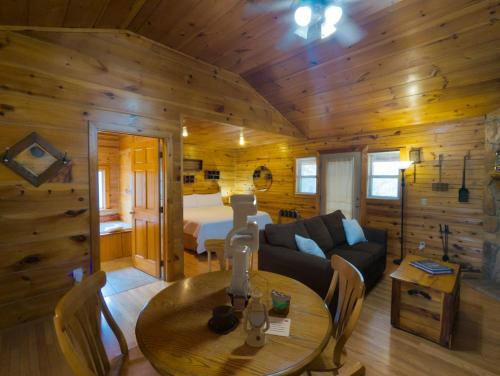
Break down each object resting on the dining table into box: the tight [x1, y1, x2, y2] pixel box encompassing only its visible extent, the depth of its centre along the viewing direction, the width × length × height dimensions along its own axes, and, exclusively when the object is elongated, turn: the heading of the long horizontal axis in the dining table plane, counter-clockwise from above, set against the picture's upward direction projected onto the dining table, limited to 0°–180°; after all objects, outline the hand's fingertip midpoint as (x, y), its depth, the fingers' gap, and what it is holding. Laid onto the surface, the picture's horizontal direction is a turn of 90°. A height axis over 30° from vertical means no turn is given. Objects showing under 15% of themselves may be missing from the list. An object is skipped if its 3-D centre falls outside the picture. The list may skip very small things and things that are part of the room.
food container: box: [270, 288, 292, 315], centre depth 131 cm, size 12×6×10 cm, turn 47°
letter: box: [262, 316, 292, 338], centre depth 119 cm, size 14×12×1 cm
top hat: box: [207, 304, 240, 335], centre depth 120 cm, size 15×15×10 cm
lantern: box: [242, 272, 270, 348], centre depth 107 cm, size 12×10×30 cm
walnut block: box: [233, 295, 246, 312], centre depth 131 cm, size 6×6×6 cm
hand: (239, 305), depth 131 cm, fingers closed on walnut block, 6 cm apart
